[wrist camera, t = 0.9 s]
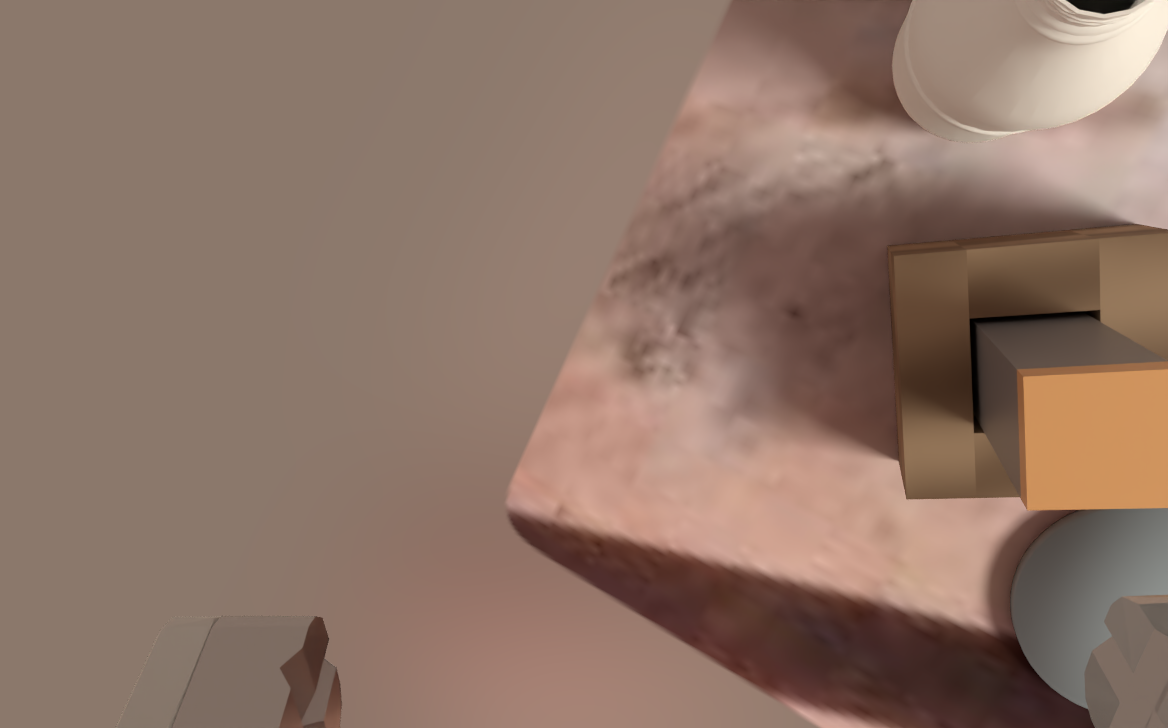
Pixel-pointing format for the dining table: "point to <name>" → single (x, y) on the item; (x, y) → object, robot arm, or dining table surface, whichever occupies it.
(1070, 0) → the water bottle
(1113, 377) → the plug peg
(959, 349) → the block
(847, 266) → the dining table surface
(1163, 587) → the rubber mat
